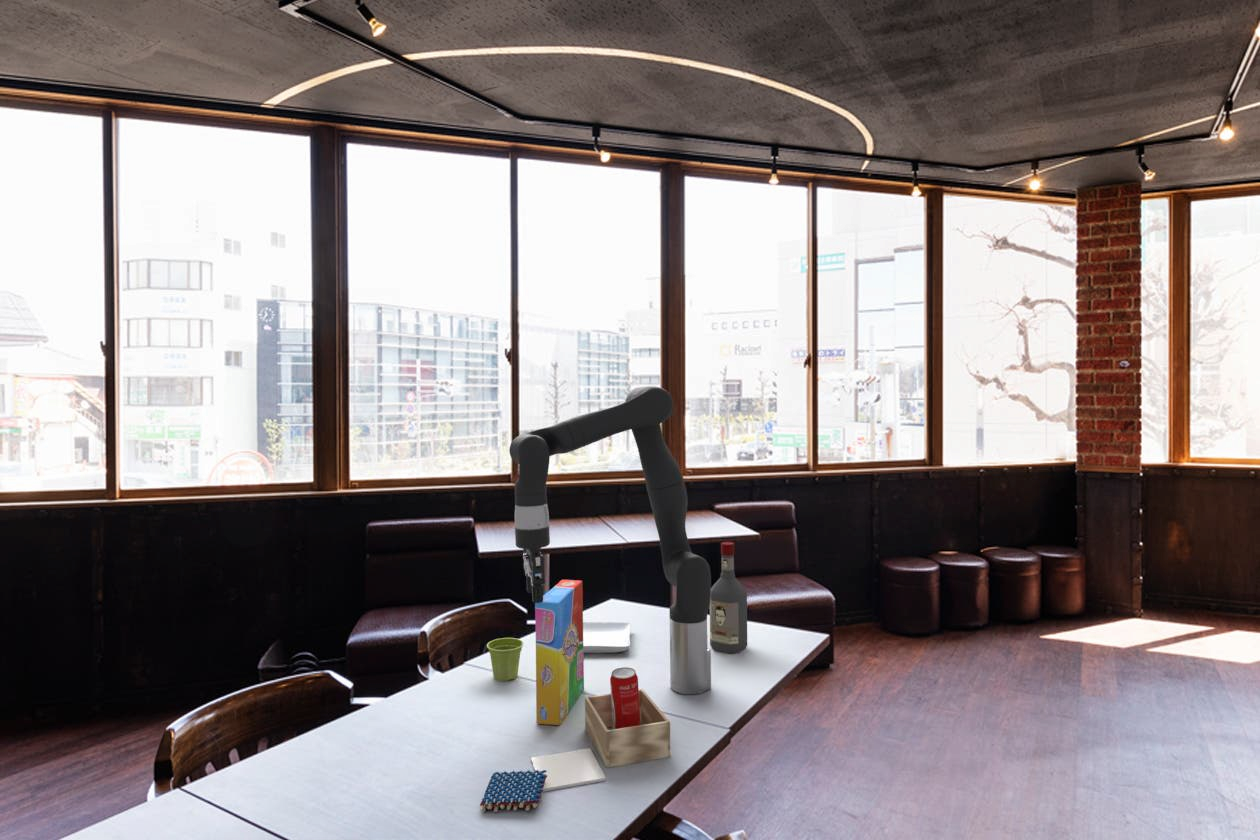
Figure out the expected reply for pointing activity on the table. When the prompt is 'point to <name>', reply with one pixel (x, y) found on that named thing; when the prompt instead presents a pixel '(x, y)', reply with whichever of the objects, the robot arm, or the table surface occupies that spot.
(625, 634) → the salad plate
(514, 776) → the woven mat
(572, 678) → the game box
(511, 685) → the table surface
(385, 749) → the table surface
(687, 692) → the robot arm
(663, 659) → the table surface
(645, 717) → the crate
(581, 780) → the coaster
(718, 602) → the liquor
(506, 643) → the plant pot
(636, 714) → the beverage can
